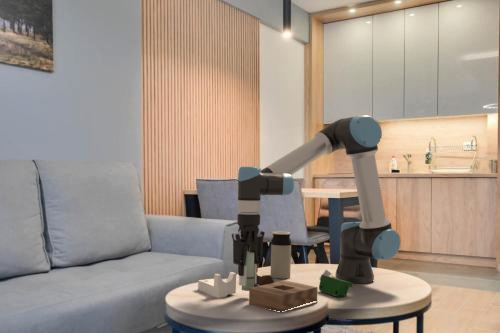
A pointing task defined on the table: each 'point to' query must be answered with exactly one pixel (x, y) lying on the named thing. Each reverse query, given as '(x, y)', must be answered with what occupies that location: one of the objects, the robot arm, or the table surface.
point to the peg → (249, 271)
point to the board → (282, 295)
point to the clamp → (334, 286)
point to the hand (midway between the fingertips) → (247, 284)
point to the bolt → (264, 280)
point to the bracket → (218, 285)
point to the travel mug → (280, 255)
